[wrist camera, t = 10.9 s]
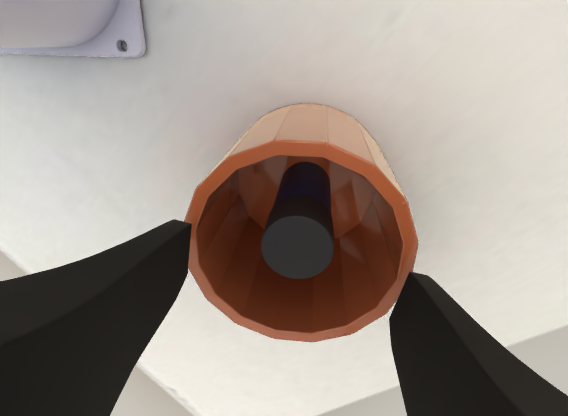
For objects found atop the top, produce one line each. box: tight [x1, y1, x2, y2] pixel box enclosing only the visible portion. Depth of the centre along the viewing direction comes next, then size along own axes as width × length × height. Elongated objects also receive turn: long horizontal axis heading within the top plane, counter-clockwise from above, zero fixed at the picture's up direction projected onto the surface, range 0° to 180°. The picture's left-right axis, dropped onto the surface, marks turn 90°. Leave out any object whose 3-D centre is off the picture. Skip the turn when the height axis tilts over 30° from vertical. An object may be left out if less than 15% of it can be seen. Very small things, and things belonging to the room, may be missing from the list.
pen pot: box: [184, 103, 418, 342], centre depth 16 cm, size 8×8×8 cm
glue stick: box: [261, 162, 334, 279], centre depth 16 cm, size 3×3×6 cm
